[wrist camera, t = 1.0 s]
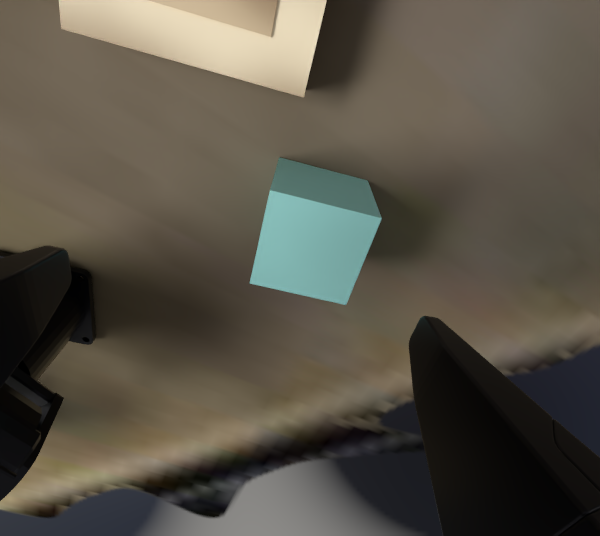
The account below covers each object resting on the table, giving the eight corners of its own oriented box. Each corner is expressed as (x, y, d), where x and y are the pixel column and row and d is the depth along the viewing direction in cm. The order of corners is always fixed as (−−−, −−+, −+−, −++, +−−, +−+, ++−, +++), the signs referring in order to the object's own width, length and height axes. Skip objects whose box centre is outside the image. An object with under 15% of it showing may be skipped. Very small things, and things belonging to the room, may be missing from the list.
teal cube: (339, 255, 23) (346, 305, 19) (261, 236, 22) (249, 283, 18) (367, 179, 20) (381, 218, 16) (279, 156, 20) (270, 190, 15)
